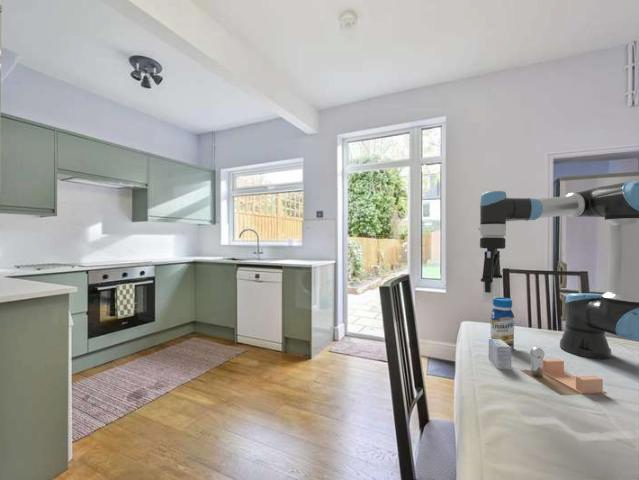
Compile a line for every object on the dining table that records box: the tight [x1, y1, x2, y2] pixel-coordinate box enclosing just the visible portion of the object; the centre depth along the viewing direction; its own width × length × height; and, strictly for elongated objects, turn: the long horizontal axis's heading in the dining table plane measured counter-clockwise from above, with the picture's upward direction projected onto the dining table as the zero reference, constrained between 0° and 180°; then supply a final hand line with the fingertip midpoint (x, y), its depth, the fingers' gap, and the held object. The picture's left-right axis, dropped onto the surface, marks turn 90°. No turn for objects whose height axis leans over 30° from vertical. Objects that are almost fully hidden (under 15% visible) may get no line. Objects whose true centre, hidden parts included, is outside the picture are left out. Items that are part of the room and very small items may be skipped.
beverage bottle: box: [489, 296, 515, 351], centre depth 119 cm, size 8×8×20 cm
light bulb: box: [529, 346, 545, 378], centre depth 92 cm, size 4×4×9 cm
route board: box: [520, 369, 607, 396], centre depth 89 cm, size 14×15×1 cm
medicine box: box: [488, 338, 512, 370], centre depth 100 cm, size 8×4×9 cm, turn 168°
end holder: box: [543, 358, 605, 395], centre depth 88 cm, size 7×14×4 cm, turn 4°
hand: (491, 299), depth 99 cm, fingers open, 13 cm apart
